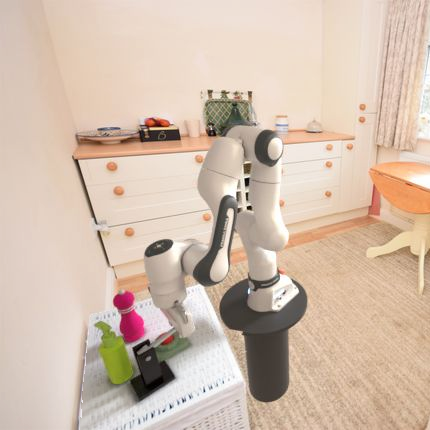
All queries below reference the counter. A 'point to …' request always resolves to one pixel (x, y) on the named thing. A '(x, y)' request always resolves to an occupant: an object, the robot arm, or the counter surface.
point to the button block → (171, 347)
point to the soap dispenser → (114, 355)
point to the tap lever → (157, 341)
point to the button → (166, 339)
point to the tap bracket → (149, 372)
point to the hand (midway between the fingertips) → (177, 329)
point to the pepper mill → (128, 316)
